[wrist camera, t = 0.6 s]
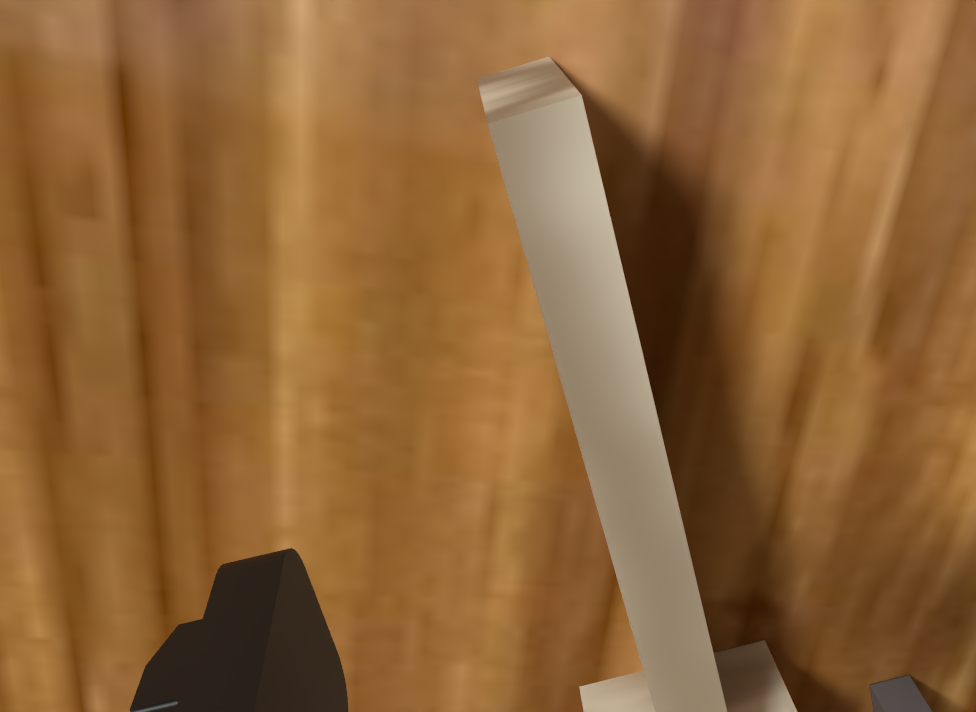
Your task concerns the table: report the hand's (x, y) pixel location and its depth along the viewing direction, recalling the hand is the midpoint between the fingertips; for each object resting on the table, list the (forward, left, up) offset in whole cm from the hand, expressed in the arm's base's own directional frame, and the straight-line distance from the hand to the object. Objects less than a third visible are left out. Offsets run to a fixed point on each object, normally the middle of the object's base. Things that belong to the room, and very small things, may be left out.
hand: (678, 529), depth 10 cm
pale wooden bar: (0, +10, -17) cm, 20 cm away
